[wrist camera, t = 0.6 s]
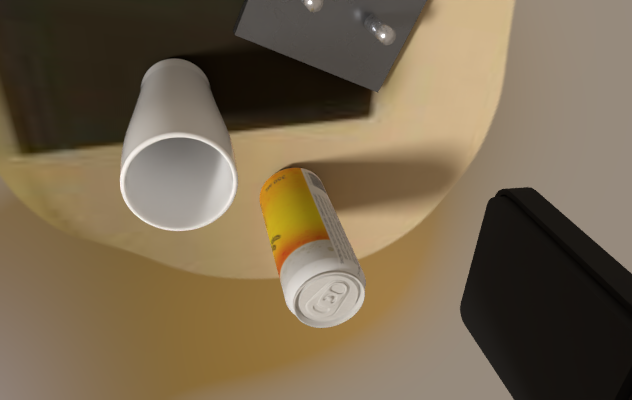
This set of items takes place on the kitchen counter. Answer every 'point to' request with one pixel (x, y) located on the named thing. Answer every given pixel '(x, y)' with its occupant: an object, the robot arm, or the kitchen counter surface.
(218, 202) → the drinking glass
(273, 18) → the plate
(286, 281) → the beer can
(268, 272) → the kitchen counter surface
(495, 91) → the kitchen counter surface
